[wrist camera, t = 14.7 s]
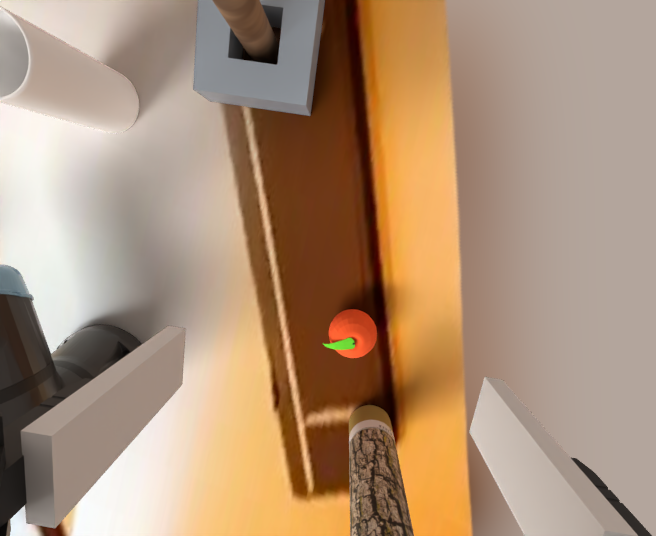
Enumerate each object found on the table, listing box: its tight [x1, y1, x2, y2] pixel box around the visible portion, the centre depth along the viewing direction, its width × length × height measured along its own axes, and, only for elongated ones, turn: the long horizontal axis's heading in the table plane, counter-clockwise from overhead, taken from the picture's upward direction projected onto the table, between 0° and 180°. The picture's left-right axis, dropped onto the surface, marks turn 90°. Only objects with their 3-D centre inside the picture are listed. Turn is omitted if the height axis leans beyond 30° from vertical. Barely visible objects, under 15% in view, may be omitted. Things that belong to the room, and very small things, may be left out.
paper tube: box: [349, 405, 414, 536], centre depth 41 cm, size 7×7×25 cm
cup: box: [0, 6, 139, 134], centre depth 38 cm, size 8×8×16 cm
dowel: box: [212, 0, 279, 65], centre depth 36 cm, size 4×4×15 cm
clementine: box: [323, 309, 377, 358], centre depth 47 cm, size 8×7×7 cm
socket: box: [193, 0, 325, 116], centre depth 41 cm, size 14×14×5 cm
